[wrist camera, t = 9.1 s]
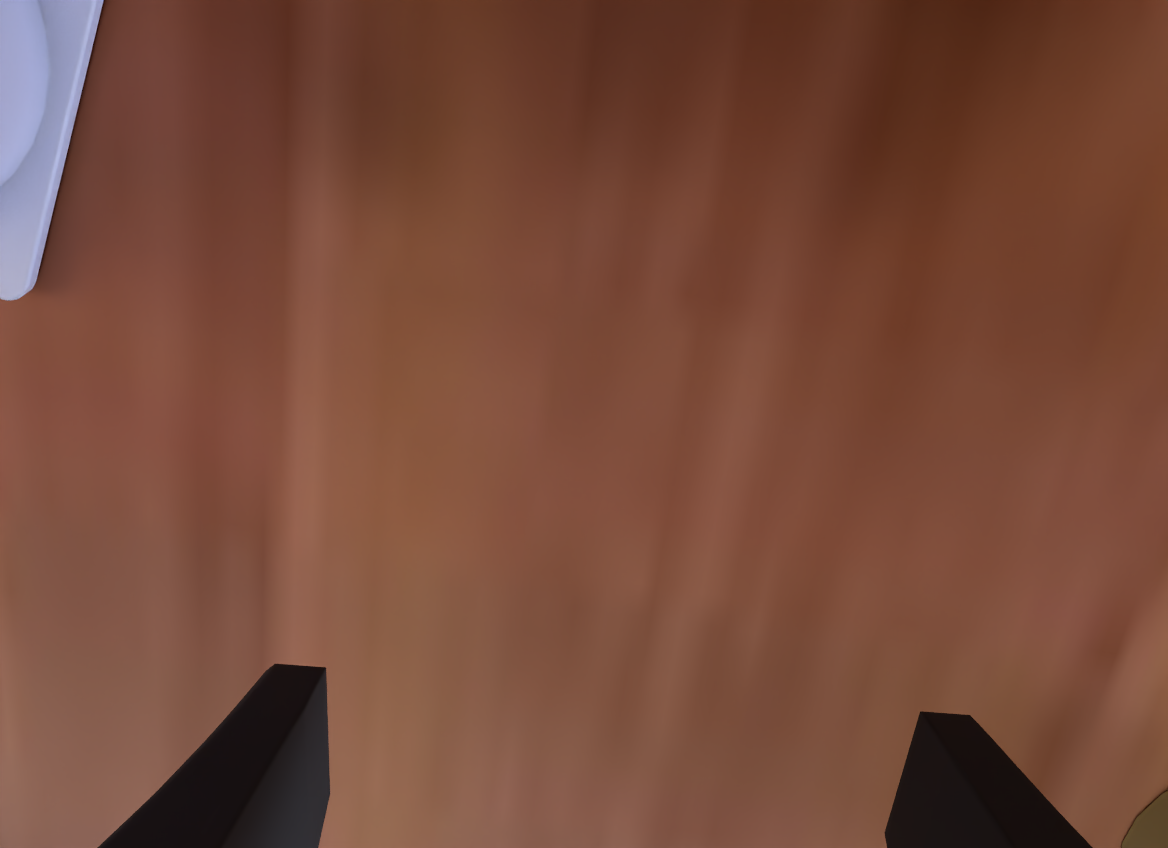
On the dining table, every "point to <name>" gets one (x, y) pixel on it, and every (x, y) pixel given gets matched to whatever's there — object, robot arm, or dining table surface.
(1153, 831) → the cork
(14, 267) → the robot arm
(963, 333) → the dining table surface
